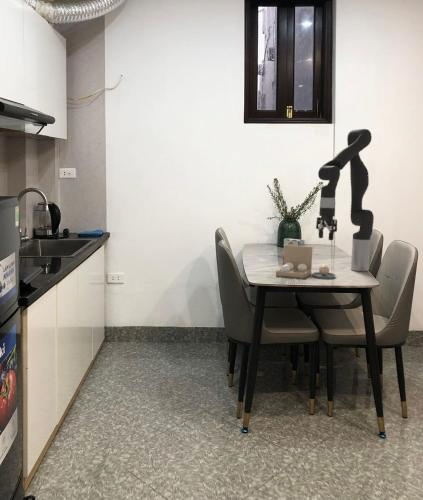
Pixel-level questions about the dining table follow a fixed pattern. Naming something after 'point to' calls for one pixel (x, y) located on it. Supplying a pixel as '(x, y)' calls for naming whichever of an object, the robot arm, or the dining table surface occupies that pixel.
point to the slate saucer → (328, 276)
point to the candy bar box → (292, 244)
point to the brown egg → (324, 270)
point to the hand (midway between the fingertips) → (325, 239)
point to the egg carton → (297, 261)
